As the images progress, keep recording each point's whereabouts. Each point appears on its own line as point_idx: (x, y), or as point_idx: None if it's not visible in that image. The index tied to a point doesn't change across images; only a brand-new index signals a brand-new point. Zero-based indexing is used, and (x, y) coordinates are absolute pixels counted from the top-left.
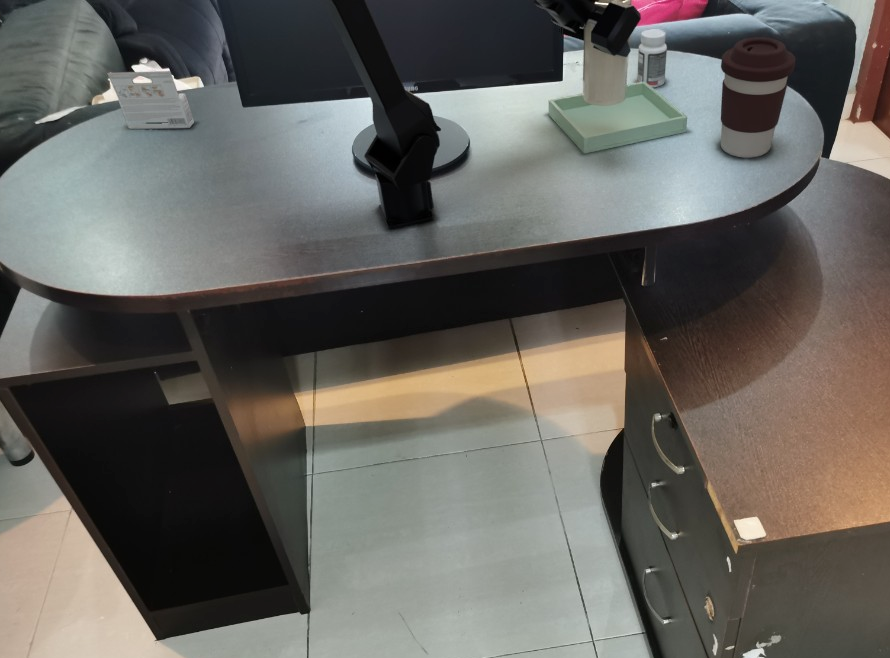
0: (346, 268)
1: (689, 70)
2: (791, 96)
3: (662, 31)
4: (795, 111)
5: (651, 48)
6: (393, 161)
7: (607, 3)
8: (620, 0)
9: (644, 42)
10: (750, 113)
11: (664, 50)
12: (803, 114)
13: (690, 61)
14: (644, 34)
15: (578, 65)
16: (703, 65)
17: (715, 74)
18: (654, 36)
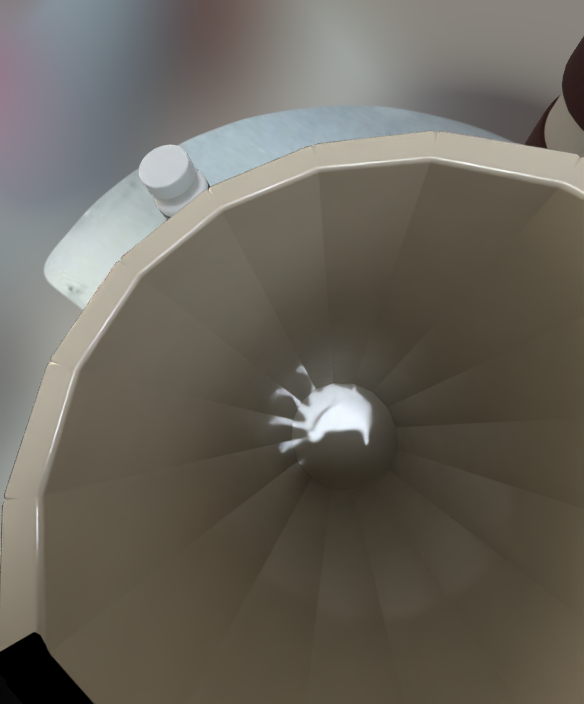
0: None
1: (217, 171)
2: (385, 108)
3: (170, 147)
4: (433, 127)
5: (190, 197)
6: None
7: (204, 333)
8: (299, 241)
9: (171, 197)
10: None
11: (206, 181)
12: (449, 124)
13: (193, 155)
14: (155, 182)
15: (79, 292)
16: (217, 148)
17: (253, 150)
18: (179, 172)
